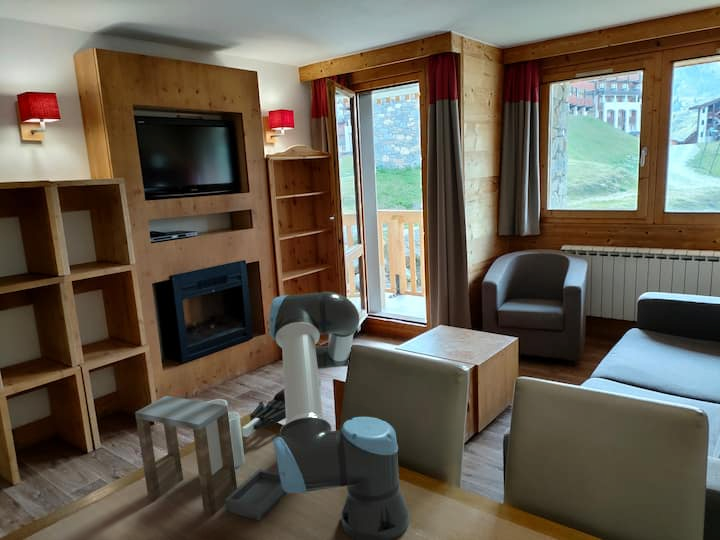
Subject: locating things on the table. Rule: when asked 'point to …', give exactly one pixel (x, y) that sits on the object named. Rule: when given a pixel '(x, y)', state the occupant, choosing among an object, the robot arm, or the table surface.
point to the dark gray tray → (256, 495)
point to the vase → (215, 443)
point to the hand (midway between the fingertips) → (244, 432)
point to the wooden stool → (196, 418)
